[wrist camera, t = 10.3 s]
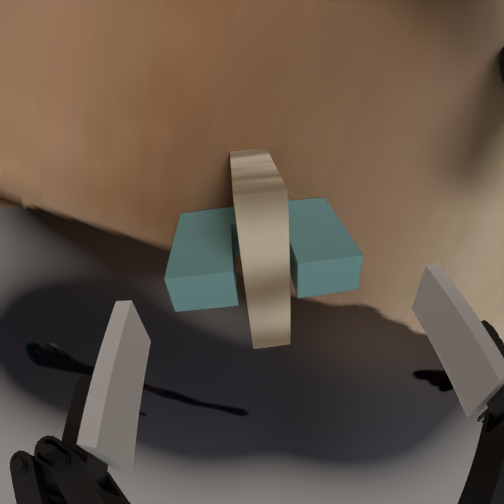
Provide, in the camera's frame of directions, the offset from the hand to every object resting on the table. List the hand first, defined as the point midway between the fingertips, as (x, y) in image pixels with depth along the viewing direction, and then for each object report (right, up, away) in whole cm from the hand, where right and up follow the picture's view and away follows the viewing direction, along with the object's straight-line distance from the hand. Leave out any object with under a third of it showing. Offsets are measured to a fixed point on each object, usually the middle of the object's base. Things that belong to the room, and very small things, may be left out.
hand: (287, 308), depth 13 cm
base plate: (-1, +6, +17) cm, 18 cm away
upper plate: (-1, +6, +17) cm, 18 cm away
